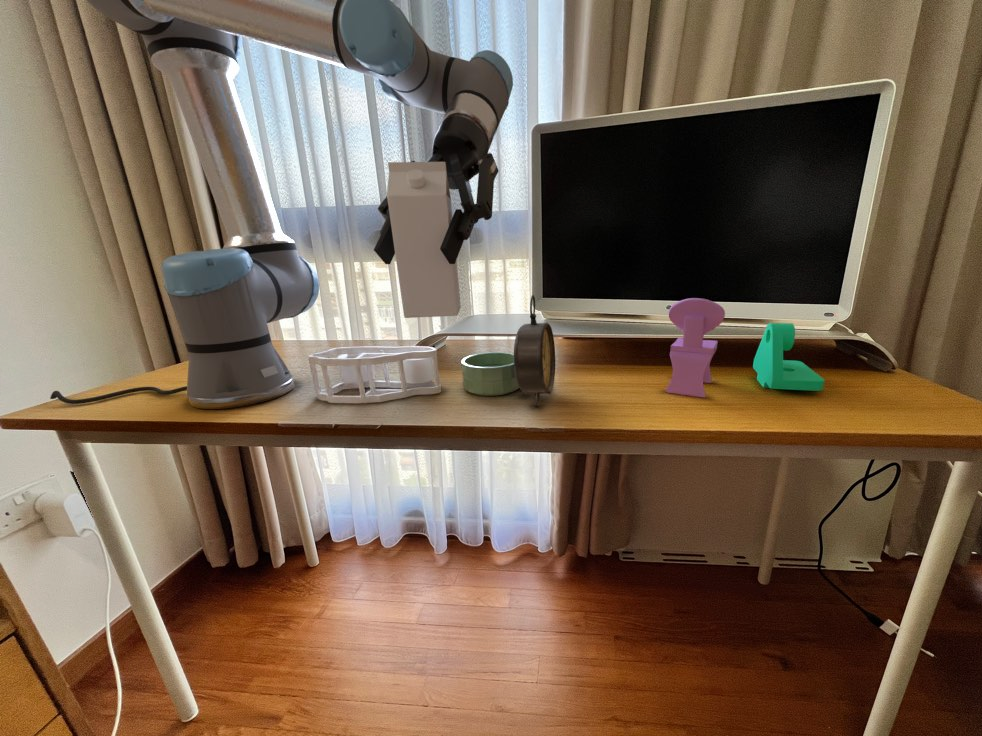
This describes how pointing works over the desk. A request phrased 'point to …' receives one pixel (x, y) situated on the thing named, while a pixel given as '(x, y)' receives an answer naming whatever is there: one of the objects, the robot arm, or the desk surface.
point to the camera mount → (782, 362)
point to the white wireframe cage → (360, 373)
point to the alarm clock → (534, 357)
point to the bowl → (489, 373)
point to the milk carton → (422, 238)
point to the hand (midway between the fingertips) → (413, 256)
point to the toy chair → (693, 345)
